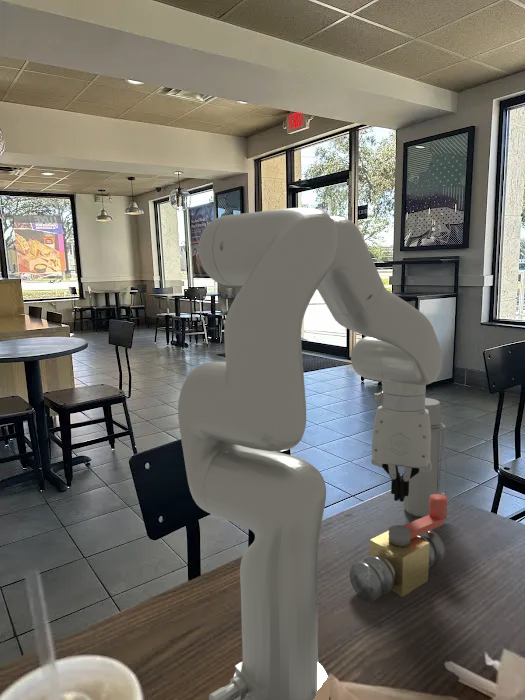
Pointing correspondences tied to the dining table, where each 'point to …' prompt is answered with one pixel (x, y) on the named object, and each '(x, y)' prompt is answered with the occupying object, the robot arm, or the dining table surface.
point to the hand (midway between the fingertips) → (399, 498)
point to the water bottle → (428, 482)
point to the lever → (420, 522)
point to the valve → (396, 565)
